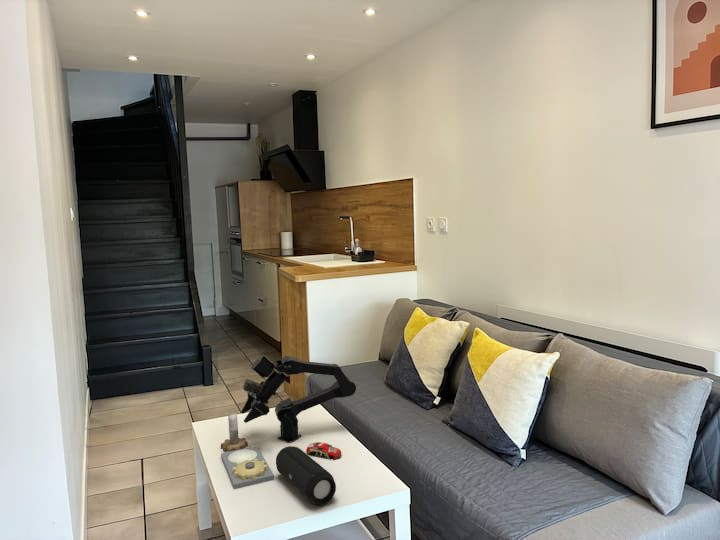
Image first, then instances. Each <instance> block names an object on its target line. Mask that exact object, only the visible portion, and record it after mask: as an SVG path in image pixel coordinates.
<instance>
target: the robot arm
mask: <svg viewBox="0 0 720 540" xmlns="http://www.w3.org/2000/svg"><path fill="white" fill-rule="evenodd" d="M250 369H251V370H252V371H253V372H254V373H256V374H258V375H259V377H261V378H263V379H264V378H266V379H265V380H262V381H260V382H257V381H254V380H252V379H247V378H246V379H245V381H244V383H243V385H242V389H243V391H244V392H247V398H246V401H245V403H244V405H243V407H242V409H241V411H240V412H241V414H243V415H244V414H245V413H247V412H248V414H246V417H245V418H244V419H243V423H245V424H246V423H249V422H251V421H253V420H255V419H257V418H259V417H262V416H267V415H268V414H269V413H270V406H269V403H270V402H269V400H270V399H271V398H272V396H276V394H277V391H278V390H279V388H280V387H281V386H282V385H283V384H284V383H285V382H286V383H288V384H291V376H292V375H301V374H315V375H325V376H333V377H334V379H336V381H335V382H334V383H332V384H331V385H330V386H329V387H326V388H324V389H321V390H319V391H317V392H314V393H312V394H309V395H307V396H304V397H302V398H300V399H297V400H292V399H291V397H287V398H286V399H283V400H280V401H279V403H277V404H276V406H275V407H274V413H275V416H276V418H277V420H278V421H279V423H280V425H279V426H280V436H278V440H281V441H284V442H287V443H292V442H293V441H296V440H298V439H299V438H301V437H302V435H301V434H300V433H299V420H298V417H297V416H298V415H299V414H300V413H302V412H304V411H306V410H309V409H311V408H314V407H317V406H318V405H321V404H323V403H326V402H328V401H331V400H333V399H340V398H341V399H342V398H347V397H351V396H353V395H355V393H356V391H357V385H356V384H355V382H353V380H352V379H351V378H350V377H347V376H346V375H345V373H344V371H343V370H342V368H341V367H340V365H339V364H336V363H326V362H316V361H308V360H306V361H305V360H303V359H299V358H298V357H293V356H290V355H285V356H284V357H282V359H277V360H274V361H273V360H272V361H271V359H269V358H268V357H267V356H266V355H265V354H263V355H261V356H259V357H258V358H257V359H256V360H255V361H254V362H253V363H252V365H251V367H250Z"/></svg>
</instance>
